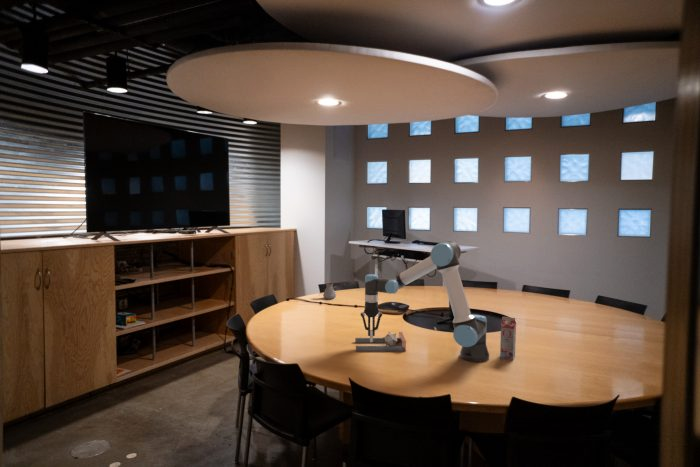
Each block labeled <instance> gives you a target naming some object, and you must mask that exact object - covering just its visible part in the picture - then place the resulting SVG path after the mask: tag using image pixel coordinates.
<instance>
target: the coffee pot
mask: <svg viewBox="0 0 700 467" xmlns="http://www.w3.org/2000/svg"><path fill="white" fill-rule="evenodd" d="M325 285H326V288H325V289H324V291H323V295H322V297H323V298H324V299H325V300H334V299H335V298H336V296H337V294H336V292H335V290H334V289H335V288H337V287H340V286H343V285H344V286H346V283H345V282H343V283H339V284H337V285H336V286H333V285H334V283H330V282H329V283H326V284H325Z"/></svg>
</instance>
